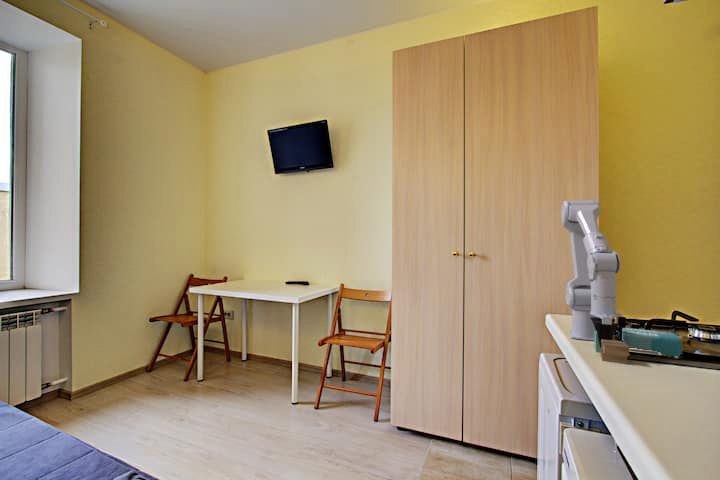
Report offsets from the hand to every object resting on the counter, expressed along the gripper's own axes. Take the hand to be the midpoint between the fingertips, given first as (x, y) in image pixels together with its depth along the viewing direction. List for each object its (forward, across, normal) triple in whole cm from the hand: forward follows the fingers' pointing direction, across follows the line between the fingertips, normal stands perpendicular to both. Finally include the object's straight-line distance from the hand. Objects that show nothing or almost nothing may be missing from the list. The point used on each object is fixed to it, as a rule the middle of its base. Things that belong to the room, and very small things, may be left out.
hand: (603, 345), depth 96 cm
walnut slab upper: (0, -8, -2) cm, 8 cm away
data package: (-1, 0, -10) cm, 11 cm away
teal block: (+1, 0, 0) cm, 1 cm away
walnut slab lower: (+2, -8, -1) cm, 8 cm away
